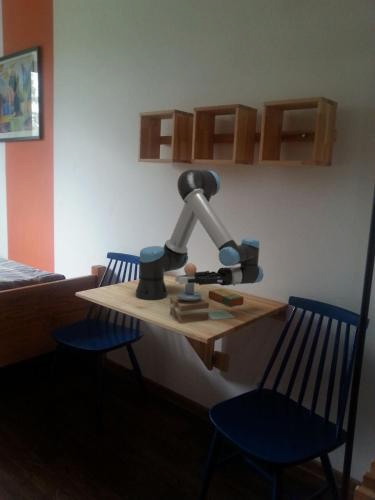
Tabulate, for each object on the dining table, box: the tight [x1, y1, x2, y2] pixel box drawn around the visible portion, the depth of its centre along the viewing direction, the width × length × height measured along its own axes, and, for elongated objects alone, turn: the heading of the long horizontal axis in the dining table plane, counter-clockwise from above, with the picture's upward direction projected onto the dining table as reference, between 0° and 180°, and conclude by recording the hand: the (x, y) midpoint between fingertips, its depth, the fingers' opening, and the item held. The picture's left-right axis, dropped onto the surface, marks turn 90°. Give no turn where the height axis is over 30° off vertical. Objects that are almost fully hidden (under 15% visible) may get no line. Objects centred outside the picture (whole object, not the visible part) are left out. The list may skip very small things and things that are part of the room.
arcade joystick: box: [176, 262, 203, 300], centre depth 171 cm, size 10×10×14 cm
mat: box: [208, 309, 235, 321], centre depth 177 cm, size 10×10×1 cm
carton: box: [208, 288, 245, 308], centre depth 197 cm, size 8×16×4 cm, turn 34°
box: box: [169, 296, 210, 324], centre depth 173 cm, size 12×12×7 cm
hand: (177, 279), depth 169 cm, fingers closed on arcade joystick, 4 cm apart
